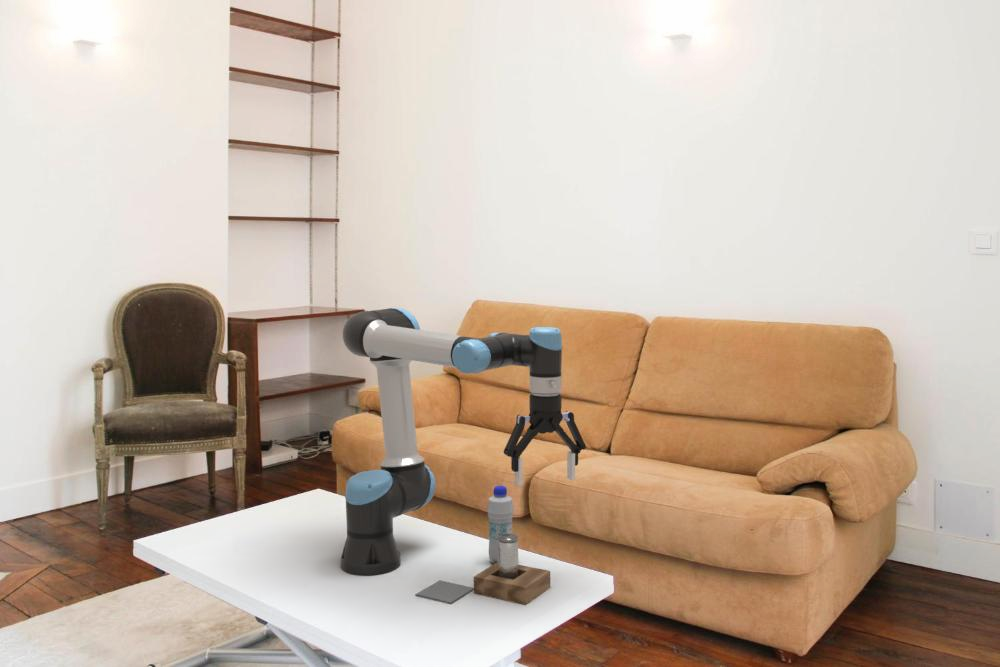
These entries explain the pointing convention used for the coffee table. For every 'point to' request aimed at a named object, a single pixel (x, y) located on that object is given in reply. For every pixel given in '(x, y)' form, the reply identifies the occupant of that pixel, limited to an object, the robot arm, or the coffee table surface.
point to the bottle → (499, 519)
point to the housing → (512, 584)
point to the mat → (445, 592)
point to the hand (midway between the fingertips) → (545, 482)
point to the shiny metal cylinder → (508, 556)
